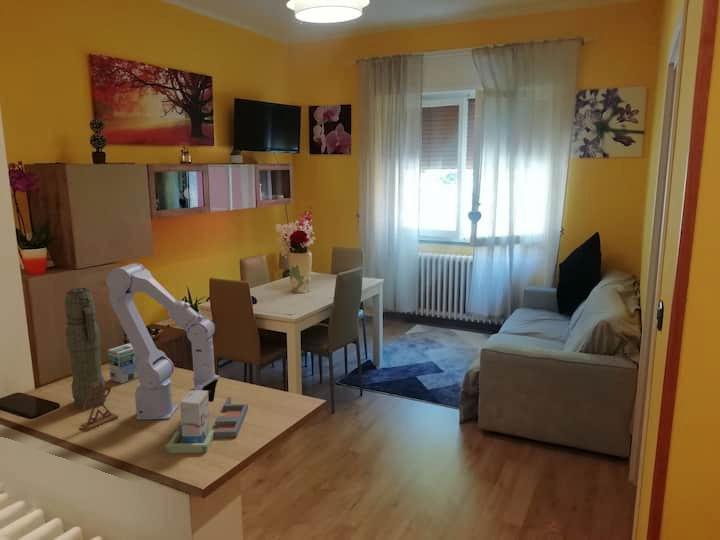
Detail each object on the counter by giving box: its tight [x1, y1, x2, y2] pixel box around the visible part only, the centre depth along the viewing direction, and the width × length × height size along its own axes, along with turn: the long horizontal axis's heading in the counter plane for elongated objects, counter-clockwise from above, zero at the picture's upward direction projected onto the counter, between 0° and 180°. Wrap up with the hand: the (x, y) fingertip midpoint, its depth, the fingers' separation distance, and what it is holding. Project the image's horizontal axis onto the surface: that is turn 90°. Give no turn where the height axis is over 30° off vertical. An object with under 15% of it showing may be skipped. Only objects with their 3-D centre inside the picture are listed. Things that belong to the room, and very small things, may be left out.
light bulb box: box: [107, 342, 138, 384], centre depth 181 cm, size 11×7×11 cm, turn 147°
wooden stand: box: [80, 382, 119, 431], centre depth 148 cm, size 9×4×12 cm, turn 148°
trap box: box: [165, 396, 249, 454], centre depth 147 cm, size 16×30×2 cm, turn 2°
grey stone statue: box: [64, 287, 107, 409], centre depth 159 cm, size 9×12×35 cm
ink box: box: [179, 389, 211, 444], centre depth 139 cm, size 9×5×12 cm, turn 0°
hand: (206, 407), depth 152 cm, fingers open, 7 cm apart
